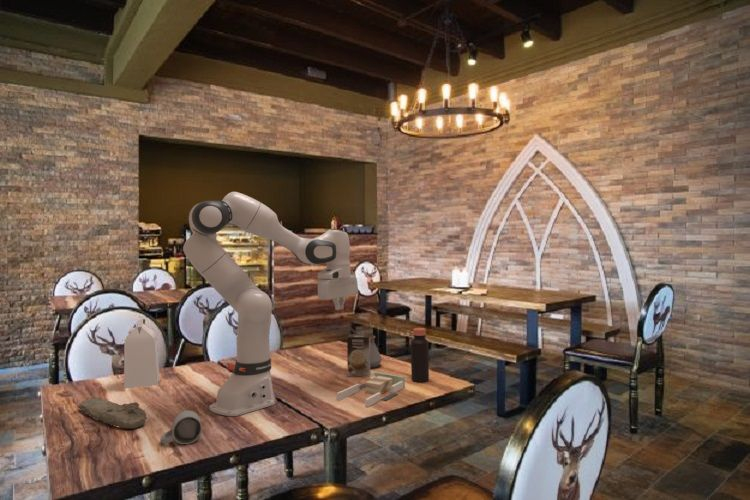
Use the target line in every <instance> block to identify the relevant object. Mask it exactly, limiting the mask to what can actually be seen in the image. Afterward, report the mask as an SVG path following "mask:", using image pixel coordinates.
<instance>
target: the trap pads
mask: <svg viewBox="0 0 750 500" xmlns="http://www.w3.org/2000/svg"><path fill="white" fill-rule="evenodd" d="M359 386H360V390H362V389H364V388H366V387H365V383H363V384H359ZM398 395H399V393H397V392H395V393H389V394H388V395H386V396H385V397H383V398H382V397H381V400H380V401H383V402H387V401H389V400H391V399H392V398H394V397H396V396H398Z"/></svg>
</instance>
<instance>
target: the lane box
mask: <svg viewBox="0 0 750 500" xmlns="http://www.w3.org/2000/svg"><path fill="white" fill-rule="evenodd" d="M378 376H383V377H388V378H393V385H392V386H391V389H390V394H392V393H397V392H399V391H401V390H402V389H405V388H406V387H405V385H406V384H405V383H406V381H405V380H406V379H405V376H401V375H396V374H390V373H384V372H380V371H379V372H378V371H375V372H373V376H371V377H369V380H371V379H373V378H375V377H378ZM360 390H361V389H360V384H359V383H356V384H354V385H352V386H349V387H347V388H345V389H343V390H341V391H338V392H336V401H342V400H344V399H346V398H348V397H350V396H352V395H354V394H356V393H358V392H360ZM381 399H382V394H381V393H379V392H378V393H376V394H372V395H371V396H369V397H368V396H367V398H364V406H365V408H369V407H371V406H373V405H374V404H377V403H378V402H380V401H382V400H381Z"/></svg>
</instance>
